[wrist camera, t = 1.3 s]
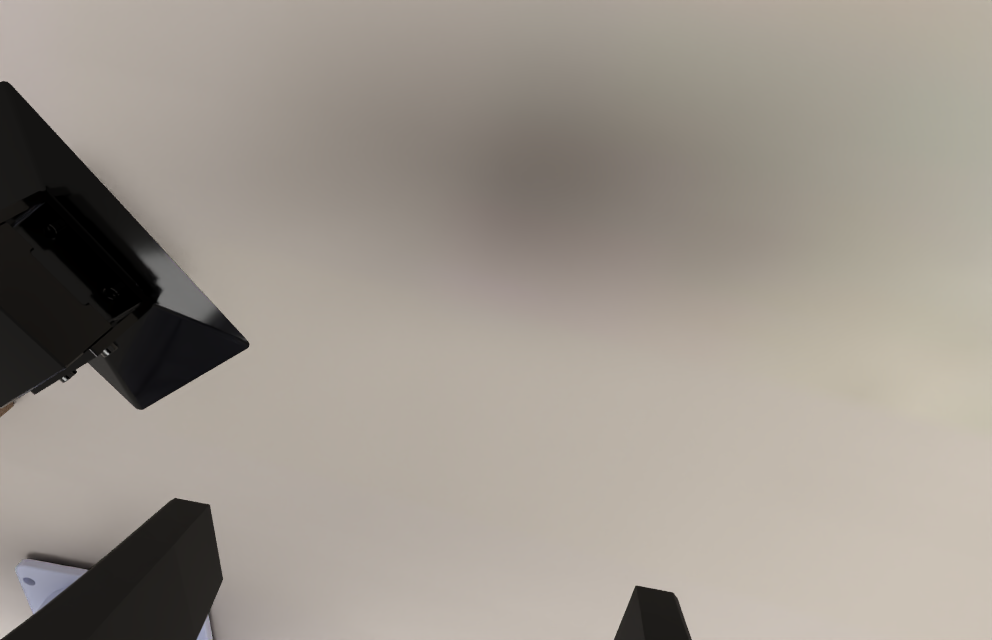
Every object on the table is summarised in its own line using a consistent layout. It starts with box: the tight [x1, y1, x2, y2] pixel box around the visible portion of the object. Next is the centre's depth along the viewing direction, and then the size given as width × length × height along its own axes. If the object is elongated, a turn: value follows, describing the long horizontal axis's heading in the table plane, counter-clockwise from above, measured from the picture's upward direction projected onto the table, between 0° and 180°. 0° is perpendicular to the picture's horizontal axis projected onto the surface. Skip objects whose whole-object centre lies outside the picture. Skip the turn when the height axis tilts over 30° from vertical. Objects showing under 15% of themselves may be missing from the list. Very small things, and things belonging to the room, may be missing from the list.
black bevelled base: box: [0, 81, 249, 410], centre depth 18 cm, size 12×7×5 cm, turn 32°
